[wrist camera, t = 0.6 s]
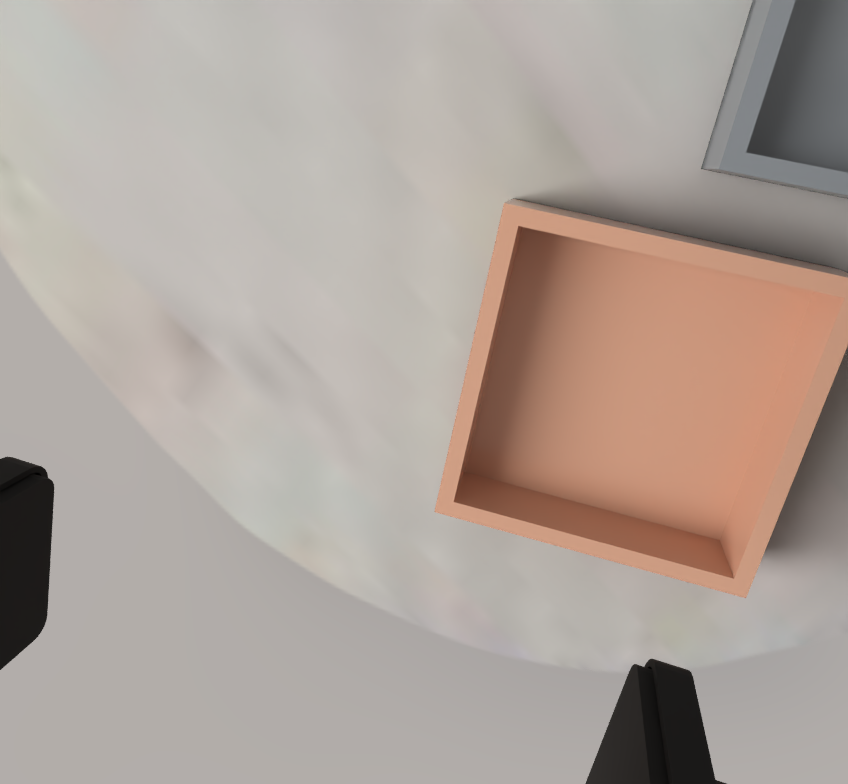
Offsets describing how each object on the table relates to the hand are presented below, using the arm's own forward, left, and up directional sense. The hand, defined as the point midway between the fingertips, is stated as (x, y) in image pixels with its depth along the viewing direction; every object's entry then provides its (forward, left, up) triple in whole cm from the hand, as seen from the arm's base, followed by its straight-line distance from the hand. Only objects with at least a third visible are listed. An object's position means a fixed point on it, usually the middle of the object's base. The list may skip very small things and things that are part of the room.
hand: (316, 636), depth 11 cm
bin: (+2, +7, -28) cm, 28 cm away
